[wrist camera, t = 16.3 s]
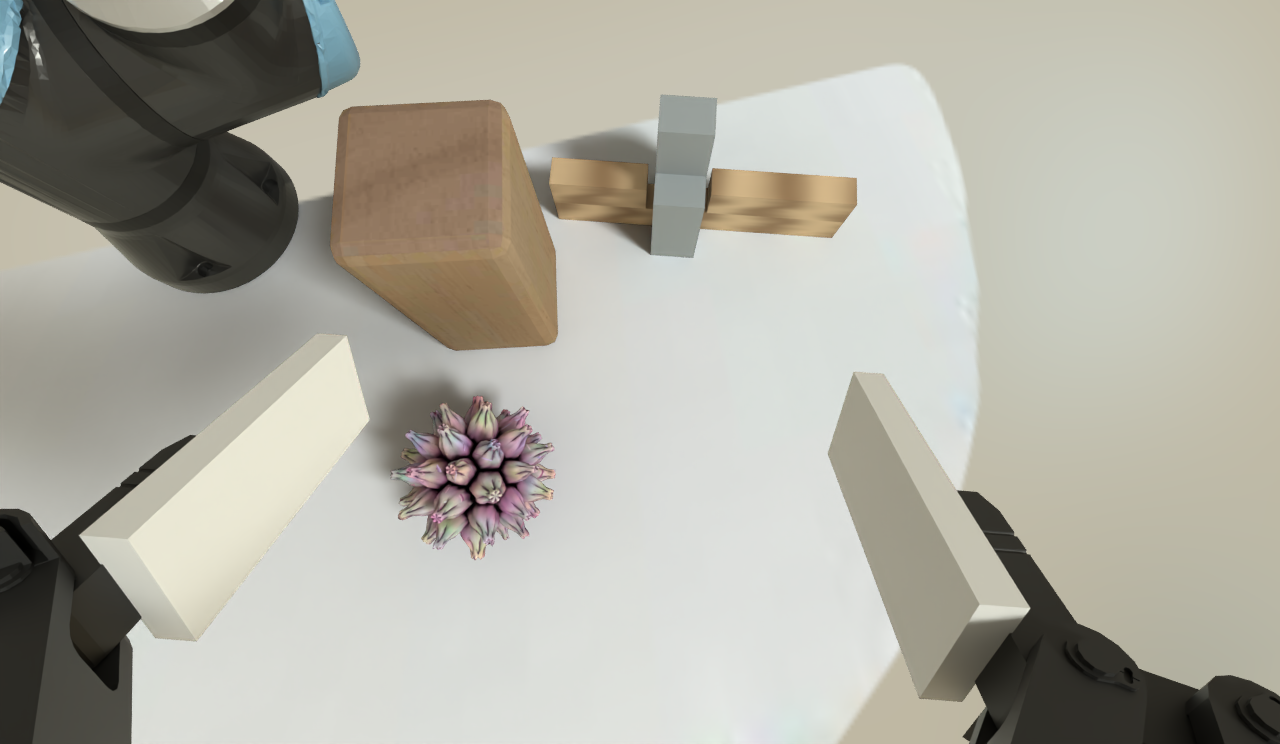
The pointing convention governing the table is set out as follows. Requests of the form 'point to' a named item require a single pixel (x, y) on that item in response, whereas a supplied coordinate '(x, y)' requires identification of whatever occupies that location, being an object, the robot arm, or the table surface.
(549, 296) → the wooden block
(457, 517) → the flower
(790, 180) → the oak slotted plate
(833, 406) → the table surface
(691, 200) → the grey stepped block
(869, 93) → the table surface
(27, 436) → the table surface
